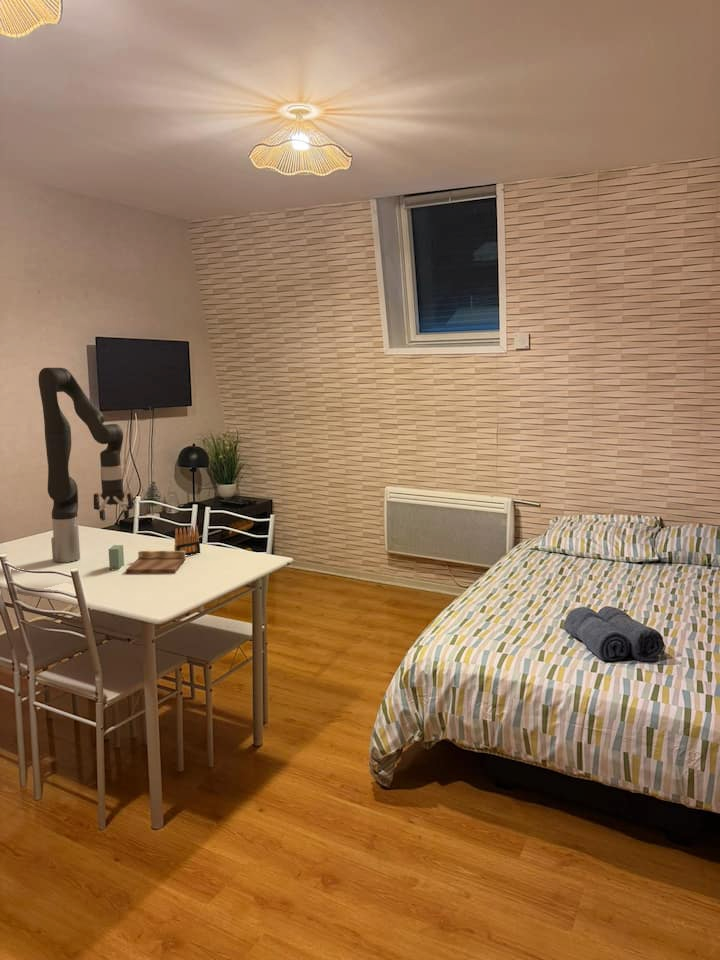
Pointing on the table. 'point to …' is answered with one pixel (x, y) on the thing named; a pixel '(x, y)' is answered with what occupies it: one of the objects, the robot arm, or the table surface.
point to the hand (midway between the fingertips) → (114, 520)
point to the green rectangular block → (116, 557)
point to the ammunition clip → (187, 541)
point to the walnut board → (157, 562)
